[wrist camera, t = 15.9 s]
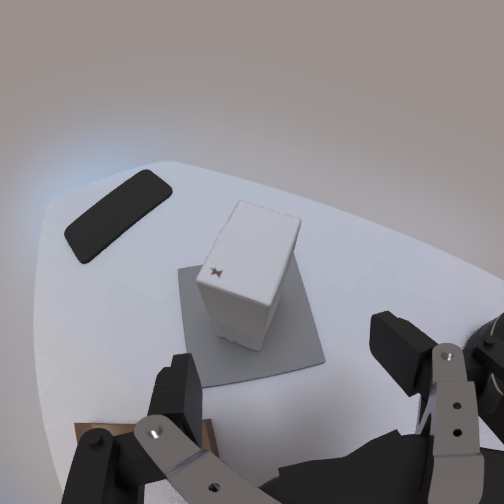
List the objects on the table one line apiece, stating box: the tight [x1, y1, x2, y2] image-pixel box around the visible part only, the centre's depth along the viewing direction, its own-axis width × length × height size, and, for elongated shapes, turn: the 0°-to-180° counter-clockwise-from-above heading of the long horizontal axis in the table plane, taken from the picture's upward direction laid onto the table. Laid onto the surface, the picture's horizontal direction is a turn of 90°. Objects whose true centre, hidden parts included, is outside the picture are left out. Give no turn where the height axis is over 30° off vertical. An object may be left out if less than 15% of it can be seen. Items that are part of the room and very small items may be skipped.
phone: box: [64, 169, 172, 264], centre depth 32 cm, size 7×1×15 cm
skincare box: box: [196, 200, 301, 352], centre depth 20 cm, size 6×4×12 cm
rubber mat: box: [178, 253, 325, 388], centre depth 26 cm, size 12×12×1 cm
